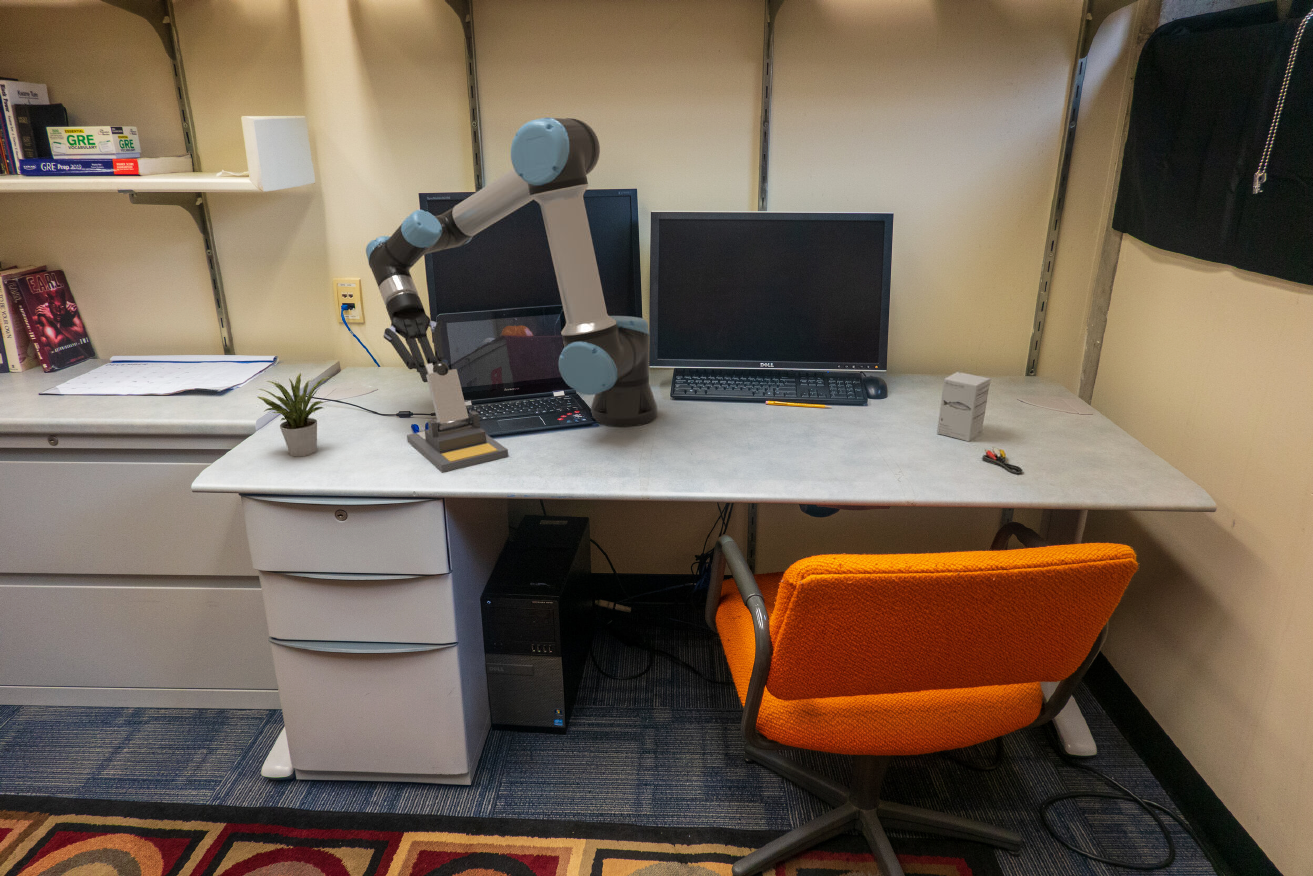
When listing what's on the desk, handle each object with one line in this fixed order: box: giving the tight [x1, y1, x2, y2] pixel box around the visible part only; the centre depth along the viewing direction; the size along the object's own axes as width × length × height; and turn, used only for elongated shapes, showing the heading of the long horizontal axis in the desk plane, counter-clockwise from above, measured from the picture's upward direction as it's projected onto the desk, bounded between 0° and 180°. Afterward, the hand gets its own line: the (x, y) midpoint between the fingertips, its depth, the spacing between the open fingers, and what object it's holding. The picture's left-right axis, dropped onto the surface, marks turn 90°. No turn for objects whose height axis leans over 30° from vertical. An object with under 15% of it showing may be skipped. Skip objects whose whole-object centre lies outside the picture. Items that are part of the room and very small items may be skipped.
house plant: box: [256, 372, 333, 457], centre depth 167 cm, size 14×14×16 cm
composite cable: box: [981, 446, 1023, 476], centre depth 160 cm, size 10×5×2 cm, turn 7°
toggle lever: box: [426, 361, 472, 432], centre depth 168 cm, size 3×7×14 cm, turn 124°
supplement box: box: [936, 371, 992, 442], centre depth 175 cm, size 7×7×13 cm
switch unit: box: [406, 410, 509, 473], centre depth 169 cm, size 20×14×7 cm
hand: (437, 393), depth 173 cm, fingers closed
